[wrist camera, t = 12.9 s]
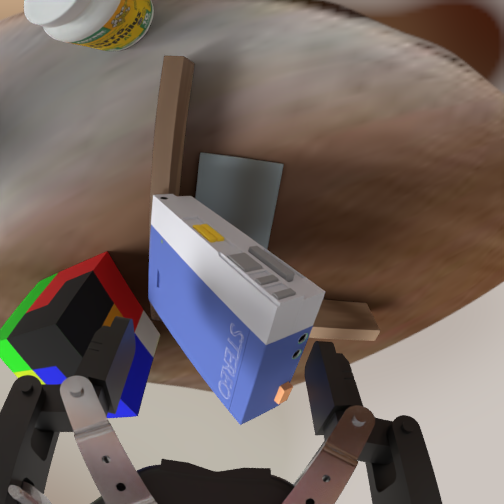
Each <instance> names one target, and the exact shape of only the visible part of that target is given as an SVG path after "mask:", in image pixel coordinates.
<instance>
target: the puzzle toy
mask: <svg viewBox="0 0 504 504" xmlns="http://www.w3.org/2000/svg"><path fill="white" fill-rule="evenodd" d="M116 316H119V317H124V318H130V319H132V320H133V325H134V334H135V344H136V348H135V355H134V358H133V361H132V364H131V367H130V370H129V373H128V376H127V379H126V382H125V385H124V388H123V392H122V395H121V398H120V401H119V404H118V408H117V411H116V414H112V413H108V414H107V418H118V417H133V416H138V413H139V409H140V406H141V401H142V397H143V394H144V390H145V387H146V383H147V379H148V376H149V372H150V369H151V365H152V362H153V358H154V355H155V351H156V348H157V344H158V341H159V338H160V333H159V332H158V331H157V329H156V328H155V326H154V325H153V323H152V322H151V320H150V319H149V317H148V316H147V314H146V313H145V311H144V310H143V308H142V307H141V305H140V304H139V302H138V301H137V299H136V297H135V296H134V294H133V293H132V291H131V289H130V288H129V286H128V285H127V283H126V281H125V280H124V278H123V277H122V275H121V273H120V272H119V270H118V268H117V267H116V265H115V263H114V261H113V260H112V258H111V256H110V255H109V253H108V251H107V252H104V253H102V254H100V255H97V256H95V257H93V258H90V259H88V260H86V261H84V262H81V263H79V264H77V265H74V266H72V267H70V268H68V269H65V270H63V271H61V272H59V273H57V274H54V275H52V276H50V277H48V278H46V279H43V280H41V281H39V282H38V283H37V285H36V286H35V287H34V288H33V289H32V290H31V292H30V293H29V294H28V295H27V296H26V298H25V299H24V300H23V301H22V302H21V304H20V305H19V306H18V307H17V309H16V310H15V311H14V312H13V314H12V315H11V316H10V317H9V319H8V320H7V321H6V323H5V324H4V325H3V326H2V328H1V329H0V358H1V359H2V360H3V361H4V363H5V364H6V365H7V366H8V367H9V368H10V369H11V370H12V372H13V373H14V374H15V375H16V376H17V377H18V378H19V377H21V376H24V375H32V376H35V377H36V378H38V379H39V381H40V382H41V384H62V383H63V381H64V380H66V379H67V378H69V377H71V376H74V375H75V373H76V371H77V369H78V367H79V365H80V363H81V360H82V358H83V356H84V354H85V352H86V350H87V349H88V346H89V344H90V343H91V340H92V338H93V336H94V334H95V332H96V331H98V330H99V329H100V328H101V327H102V326H109V327H110V326H111V324H112V322H113V320H114V318H115V317H116Z"/></svg>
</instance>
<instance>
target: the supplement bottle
mask: <svg viewBox="0 0 504 504" xmlns="http://www.w3.org/2000/svg"><path fill="white" fill-rule="evenodd" d="M24 13H25V16H26V18H27V19H28V20H29V21H30V22H31V23H33V24H36V25H40V26H43V28H44V30H45V32H46V33H47V34H48V35H49V36H50V37H52V38H53V39H55V40H58V41H62V42H67V43H72V44H77V45H82V46H87V47H91V48H95V49H100V50H105V51H120V50H124V49H126V48H129V47H130V46H132V45H134V44H135V43H137V42H138V41H139V40H140V39H141V38H142V37H143V36H144V35H145V34H146V32H147V31H148V29H149V27H150V24H151V22H152V19H153V15H154V7H153V3H152V1H151V0H24Z"/></svg>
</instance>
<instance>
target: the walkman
mask: <svg viewBox="0 0 504 504" xmlns="http://www.w3.org/2000/svg"><path fill="white" fill-rule="evenodd" d="M324 295H325V291H324V290H323V289H321V288H320V287H318V286H317V285H316V284H314V283H313V282H311V281H310V280H309V279H307V278H306V277H304V276H303V275H302V274H300V273H299V272H297V271H296V270H295V269H293V268H292V267H291V266H289V265H288V264H286V263H285V262H284V261H282V260H281V259H279V258H278V257H277V256H275V255H274V254H272V253H271V252H270V251H268V250H267V249H265V248H264V247H263V246H261V245H260V244H258V243H257V242H256V241H254V240H253V239H251V238H250V237H248V236H247V235H246V234H244V233H243V232H241V231H240V230H239V229H237V228H236V227H234V226H233V225H232V224H230V223H229V222H227V221H226V220H225V219H223V218H222V217H220V216H219V215H217V214H216V213H215V212H213V211H212V210H210V209H209V208H208V207H206V206H205V205H203V204H202V203H200V202H199V201H198V200H196V199H195V198H193V197H192V196H175V195H174V194H157V195H153V202H152V215H151V232H150V252H149V283H148V299H149V301H150V302H151V304H152V305H153V307H154V309H155V310H156V312H157V313H158V315H159V316H160V318H161V319H162V321H163V322H164V324H165V325H166V327H167V328H168V330H169V331H170V333H171V334H172V336H173V337H174V338H175V340H176V341H177V343H178V344H179V346H180V347H181V348H182V350H183V351H184V353H185V354H186V355H187V357H188V358H189V360H190V361H191V362H192V364H193V365H194V366H195V368H196V369H197V371H198V372H199V373H200V375H201V376H202V377H203V379H204V380H205V381H206V383H207V384H208V385H209V386H210V388H211V389H212V390H213V392H214V393H215V394H216V395H217V397H218V398H219V399H220V400H221V402H222V403H223V404H224V406H225V407H226V408H227V409H228V410H229V412H230V413H231V414H232V415H233V417H234V418H235V419H236V420H237V421H238V422H239V424H243V423H245V422H247V421H249V420H251V419H253V418H255V417H257V416H259V415H261V414H263V413H265V412H267V411H269V410H270V409H273V408H275V407H276V406H278V405H280V404H281V403H282V402H284V401H286V400H287V399H288V396H289V394H290V392H291V390H292V388H293V386H292V385H291V384H290V381H291V379H292V376H293V374H294V372H295V369H296V367H297V365H298V362H299V360H300V357H301V355H302V353H303V350H304V348H305V345H306V343H307V340H308V338H309V335H310V333H311V330H312V327H313V324H314V322H315V319H316V316H317V314H318V311H319V308H320V306H321V303H322V300H323V298H324Z"/></svg>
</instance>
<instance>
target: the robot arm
mask: <svg viewBox="0 0 504 504" xmlns="http://www.w3.org/2000/svg"><path fill="white" fill-rule="evenodd" d="M135 348H136V344H135V334H134V325H133V320H132V319H130V318H124V317H119V316H116V317H115V318H114V320H113V322H112V324H111V326H110V327H109V326H102V327H101V328H100V329H99V330H98V331H96V332H95V334H94V336H93V338H92V340H91V343H90V344H89V346H88V349H87V350H86V352H85V354H84V356H83V358H82V360H81V363H80V365H79V367H78V369H77V371H76V373H75V375H74V376H71V377H69V378H67V379H66V380H64V381H63V383H62V384H41V382H40V381H39V379H38V378H36V377H35V376H32V375H24V376H21V377H19V378H18V379H17V380H16V381H15V382H14V384H13V386H12V388H11V390H10V392H9V394H8V397H7V399H6V401H5V403H4V406H3V408H2V410H1V412H0V504H51V502H50V501H49V499H48V498H47V497H46V496H45V495H43V494H44V490H45V485H46V481H47V476H48V473H49V469H50V465H51V461H52V457H53V454H54V450H55V446H56V443H57V440H58V436H59V433H60V432H74V434H75V435H74V437H75V440H76V442H77V445H78V447H79V449H80V452H81V454H82V456H83V459H84V461H85V463H86V465H87V467H88V469H89V471H90V474H91V476H92V478H93V480H94V482H95V484H96V486H97V488H98V490H99V492H100V494H101V497H99V498H98V499H97V500H95V501H94V502H92V503H91V504H335V502H336V501H337V499H338V497H339V496H340V494H341V492H342V491H343V489H344V487H345V485H346V484H347V482H348V481H349V479H350V477H351V475H352V473H353V472H354V470H355V468H356V466H357V464H358V461H363V462H366V467H367V473H368V479H369V485H370V491H371V497H372V503H373V504H442V501H441V497H440V493H439V489H438V485H437V482H436V478H435V475H434V471H433V468H432V465H431V461H430V457H429V454H428V451H427V448H426V444H425V441H424V438H423V435H422V432H421V429H420V426H419V424H418V422H417V421H416V420H415V419H413V418H412V417H410V416H405V415H402V416H399V417H397V418H396V419H395V420H394V421H393V422H392V421H388V420H383V419H378V418H375V417H374V415H373V414H372V412H371V411H370V410H369V409H367V408H365V407H363V405H362V401H361V398H360V395H359V392H358V389H357V385H356V382H355V380H354V376H353V373H352V370H351V367H350V364H349V362H348V360H347V359H346V358H345V357H344V356H343V354H340V353H336V351H335V347H334V344H333V343H332V342H323V341H316V342H315V343H314V345H313V347H312V350H311V352H310V355H309V357H308V360H307V362H306V366H305V380H306V386H307V391H308V396H309V402H310V407H311V413H312V418H313V424H314V430H315V435H324V438H325V441H324V442H323V444H322V445H321V447H320V448H319V450H318V451H317V452H316V454H315V455H314V457H313V458H312V460H311V461H310V462H309V464H308V465H307V467H306V468H305V469H304V471H303V472H302V474H301V475H300V476H299V477H298V479H297V480H296V481H295V483H294V484H291V483H290V482H288V481H286V480H285V479H282V478H280V477H277V476H274V475H271V470H270V468H265V469H264V468H240V469H233V470H227V471H220V472H215V471H211V470H208V469H205V468H202V467H199V466H196V465H193V464H190V463H186V462H179V461H173V460H166V459H162V461H161V465H153V466H148V467H145V468H142V469H140V470H137V471H136V470H135V468H134V466H133V465H132V463H131V461H130V459H129V458H128V456H127V454H126V452H125V450H124V449H123V447H122V445H121V443H120V441H119V439H118V437H117V435H116V433H115V431H114V430H113V427H112V426H111V424H110V423H109V421H108V419H107V414H108V413H112V414H116V411H117V408H118V404H119V401H120V398H121V395H122V392H123V388H124V385H125V382H126V379H127V376H128V373H129V370H130V367H131V364H132V361H133V358H134V355H135ZM357 460H358V461H357Z"/></svg>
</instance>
